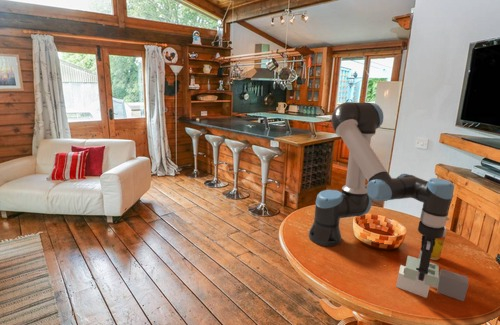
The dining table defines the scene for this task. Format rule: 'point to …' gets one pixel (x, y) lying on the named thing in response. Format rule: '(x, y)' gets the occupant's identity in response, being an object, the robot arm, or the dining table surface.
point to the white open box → (411, 284)
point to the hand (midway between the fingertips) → (419, 276)
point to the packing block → (452, 284)
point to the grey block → (412, 272)
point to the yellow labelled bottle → (438, 247)
